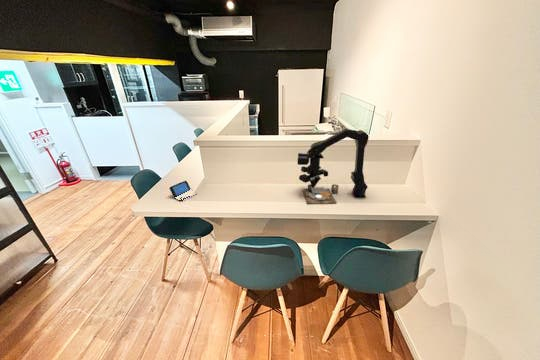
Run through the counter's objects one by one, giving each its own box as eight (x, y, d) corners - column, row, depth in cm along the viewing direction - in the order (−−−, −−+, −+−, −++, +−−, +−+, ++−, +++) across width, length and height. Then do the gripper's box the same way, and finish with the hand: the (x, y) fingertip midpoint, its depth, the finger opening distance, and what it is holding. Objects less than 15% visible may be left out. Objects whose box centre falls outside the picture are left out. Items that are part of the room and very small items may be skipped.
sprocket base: (328, 190, 139) (329, 188, 138) (336, 203, 123) (336, 202, 123) (302, 190, 139) (303, 189, 138) (307, 204, 123) (307, 202, 123)
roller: (336, 191, 137) (337, 184, 135) (338, 194, 133) (339, 187, 131) (330, 191, 137) (331, 184, 135) (331, 194, 134) (332, 187, 131)
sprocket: (310, 187, 140) (311, 179, 138) (333, 191, 134) (334, 183, 131) (303, 198, 127) (303, 190, 124) (328, 203, 121) (329, 195, 118)
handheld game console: (181, 202, 128) (178, 191, 125) (171, 197, 134) (168, 187, 131) (198, 194, 137) (196, 184, 134) (188, 189, 143) (186, 180, 140)
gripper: (317, 157, 137) (315, 179, 143) (293, 163, 128) (293, 186, 135) (329, 163, 128) (327, 186, 135) (305, 169, 120) (304, 193, 126)
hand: (313, 187), depth 133 cm, fingers closed
